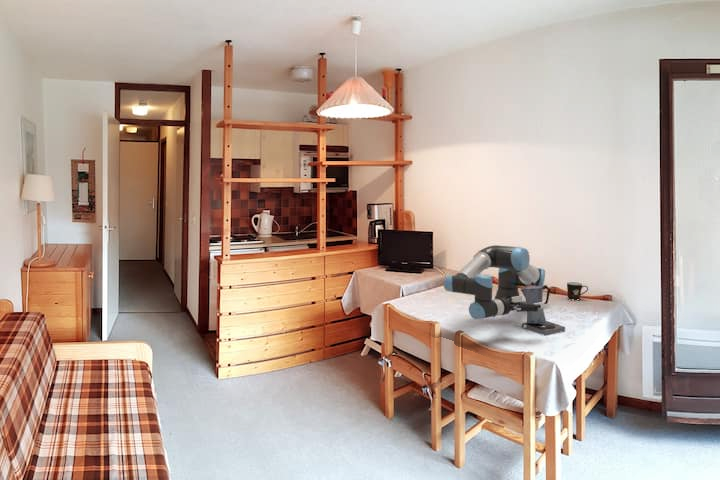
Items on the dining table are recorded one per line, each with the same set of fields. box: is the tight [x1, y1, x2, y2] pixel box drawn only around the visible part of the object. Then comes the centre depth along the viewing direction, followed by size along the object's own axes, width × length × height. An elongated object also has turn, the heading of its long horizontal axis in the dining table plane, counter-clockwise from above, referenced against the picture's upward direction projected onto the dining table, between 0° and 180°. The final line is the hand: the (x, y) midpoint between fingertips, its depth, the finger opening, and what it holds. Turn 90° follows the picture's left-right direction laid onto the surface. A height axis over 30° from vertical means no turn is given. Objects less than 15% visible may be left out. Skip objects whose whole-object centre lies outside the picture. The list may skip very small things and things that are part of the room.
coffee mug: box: [566, 281, 589, 300], centre depth 285 cm, size 12×9×10 cm
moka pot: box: [519, 282, 551, 324], centre depth 231 cm, size 10×15×20 cm, turn 101°
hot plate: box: [521, 320, 566, 336], centre depth 228 cm, size 15×14×2 cm
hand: (532, 301), depth 223 cm, fingers open, 13 cm apart
